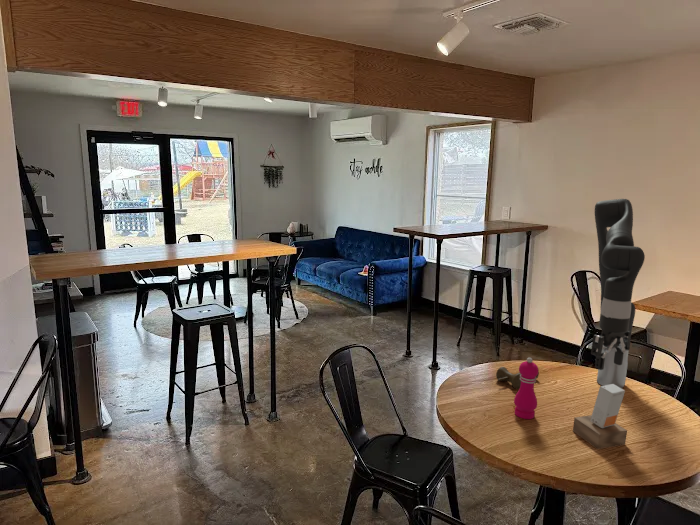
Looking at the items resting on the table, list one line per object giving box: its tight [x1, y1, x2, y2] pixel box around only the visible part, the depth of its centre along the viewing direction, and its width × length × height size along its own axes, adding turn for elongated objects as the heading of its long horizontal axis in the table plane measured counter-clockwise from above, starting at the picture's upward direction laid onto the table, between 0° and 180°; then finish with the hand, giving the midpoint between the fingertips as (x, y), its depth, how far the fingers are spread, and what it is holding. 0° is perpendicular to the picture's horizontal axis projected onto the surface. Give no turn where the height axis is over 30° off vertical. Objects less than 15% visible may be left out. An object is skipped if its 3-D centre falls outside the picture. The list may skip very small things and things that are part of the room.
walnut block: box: [572, 414, 628, 450], centre depth 141 cm, size 10×10×5 cm
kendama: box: [495, 366, 540, 390], centre depth 179 cm, size 6×10×20 cm
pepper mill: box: [513, 357, 539, 420], centre depth 153 cm, size 7×7×20 cm
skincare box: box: [590, 384, 626, 428], centre depth 139 cm, size 6×4×12 cm
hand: (608, 366), depth 138 cm, fingers open, 8 cm apart
